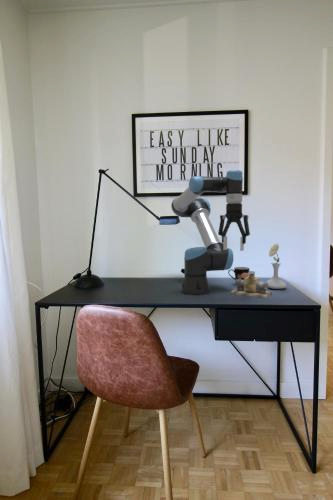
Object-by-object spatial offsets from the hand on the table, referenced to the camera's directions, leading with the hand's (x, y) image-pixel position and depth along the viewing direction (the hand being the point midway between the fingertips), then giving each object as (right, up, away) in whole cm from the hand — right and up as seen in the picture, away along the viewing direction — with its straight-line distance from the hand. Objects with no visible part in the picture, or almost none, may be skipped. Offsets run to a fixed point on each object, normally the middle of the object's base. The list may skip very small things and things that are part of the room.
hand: (233, 250), depth 159 cm
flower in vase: (+27, -21, +20) cm, 40 cm away
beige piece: (+11, -22, +7) cm, 26 cm away
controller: (-18, -20, +40) cm, 48 cm away
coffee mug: (+10, -20, +30) cm, 37 cm away
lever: (+8, -13, +2) cm, 15 cm away
